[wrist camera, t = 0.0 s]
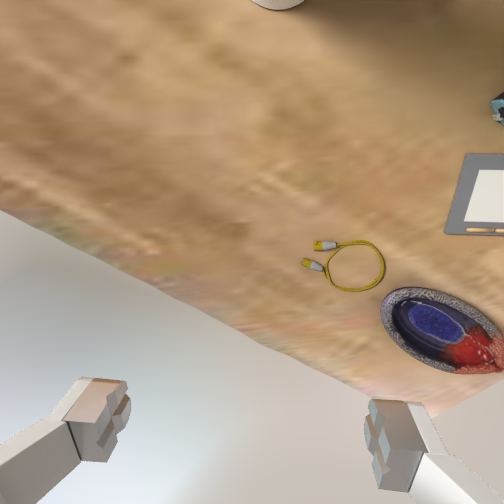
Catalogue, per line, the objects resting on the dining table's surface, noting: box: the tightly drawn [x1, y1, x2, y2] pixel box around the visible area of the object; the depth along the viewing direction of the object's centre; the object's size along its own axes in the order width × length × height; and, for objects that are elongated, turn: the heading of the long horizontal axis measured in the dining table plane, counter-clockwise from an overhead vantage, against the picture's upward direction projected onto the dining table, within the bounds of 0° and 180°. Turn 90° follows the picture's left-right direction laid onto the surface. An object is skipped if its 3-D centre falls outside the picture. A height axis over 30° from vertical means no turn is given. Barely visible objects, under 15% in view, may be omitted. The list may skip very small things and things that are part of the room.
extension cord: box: [301, 240, 384, 291], centre depth 59 cm, size 12×16×2 cm
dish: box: [381, 287, 504, 374], centre depth 62 cm, size 16×31×5 cm, turn 56°
